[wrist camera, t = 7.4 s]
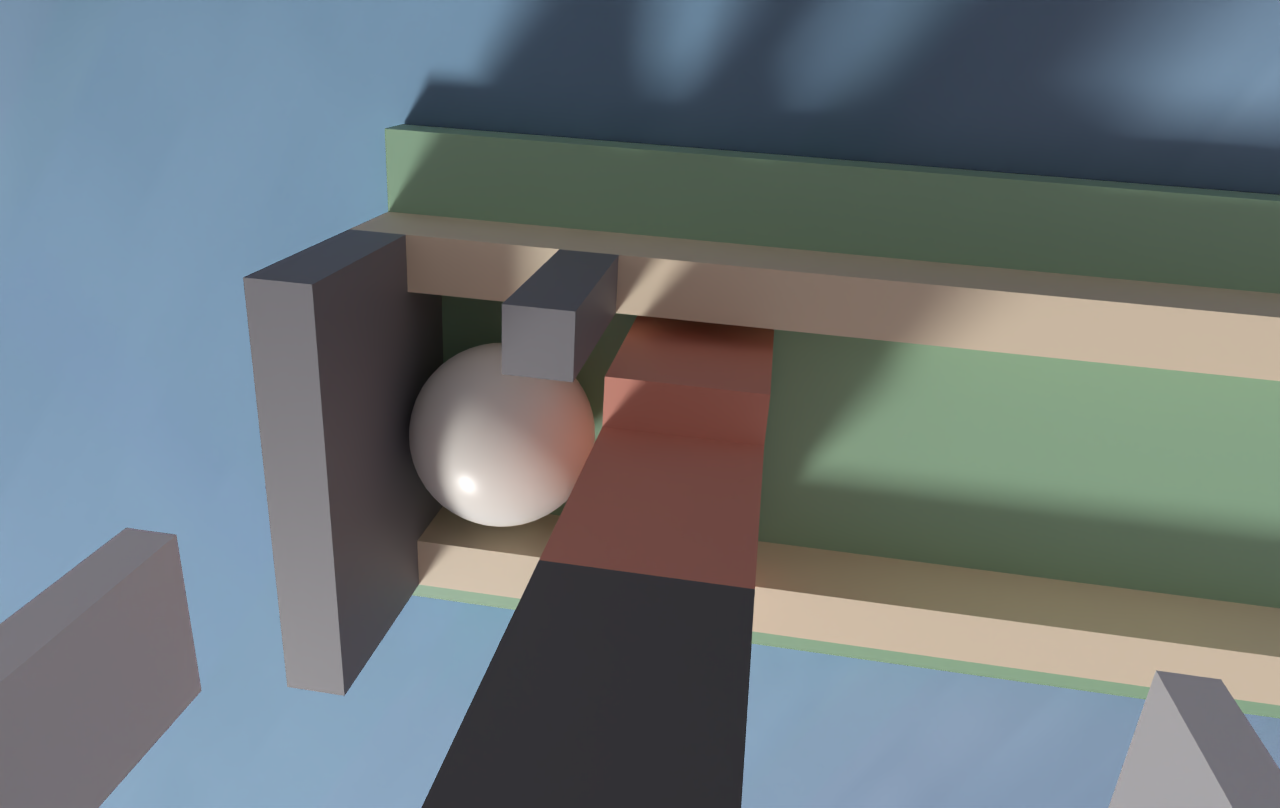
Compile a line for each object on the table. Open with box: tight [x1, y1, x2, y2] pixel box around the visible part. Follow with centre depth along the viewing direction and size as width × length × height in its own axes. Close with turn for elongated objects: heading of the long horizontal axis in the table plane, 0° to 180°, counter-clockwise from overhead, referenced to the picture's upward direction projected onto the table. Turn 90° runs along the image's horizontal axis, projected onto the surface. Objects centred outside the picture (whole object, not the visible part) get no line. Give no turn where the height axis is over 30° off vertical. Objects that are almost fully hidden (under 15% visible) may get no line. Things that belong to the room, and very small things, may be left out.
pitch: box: [243, 124, 1280, 718], centre depth 19 cm, size 12×22×7 cm, turn 87°
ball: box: [409, 343, 595, 527], centre depth 20 cm, size 4×4×4 cm
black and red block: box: [422, 315, 774, 808], centre depth 15 cm, size 5×3×14 cm, turn 177°
